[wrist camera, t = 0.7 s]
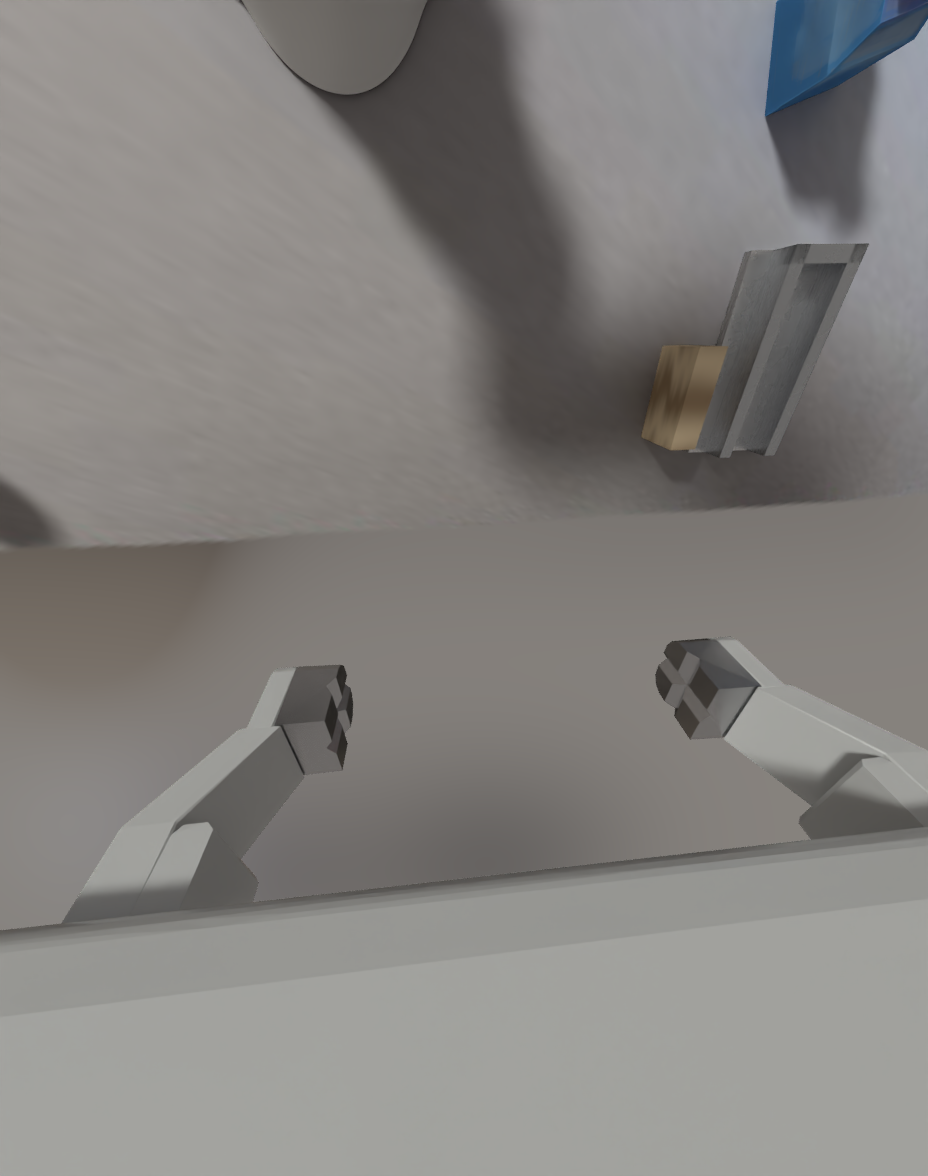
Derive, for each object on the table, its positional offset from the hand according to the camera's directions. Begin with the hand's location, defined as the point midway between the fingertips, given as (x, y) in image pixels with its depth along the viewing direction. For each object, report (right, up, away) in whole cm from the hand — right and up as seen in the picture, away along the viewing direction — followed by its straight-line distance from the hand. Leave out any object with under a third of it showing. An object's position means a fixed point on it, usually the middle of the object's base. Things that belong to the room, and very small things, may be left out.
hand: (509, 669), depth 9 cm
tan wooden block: (+23, +26, +36) cm, 50 cm away
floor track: (+34, +29, +35) cm, 57 cm away
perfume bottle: (+28, +48, +22) cm, 60 cm away
